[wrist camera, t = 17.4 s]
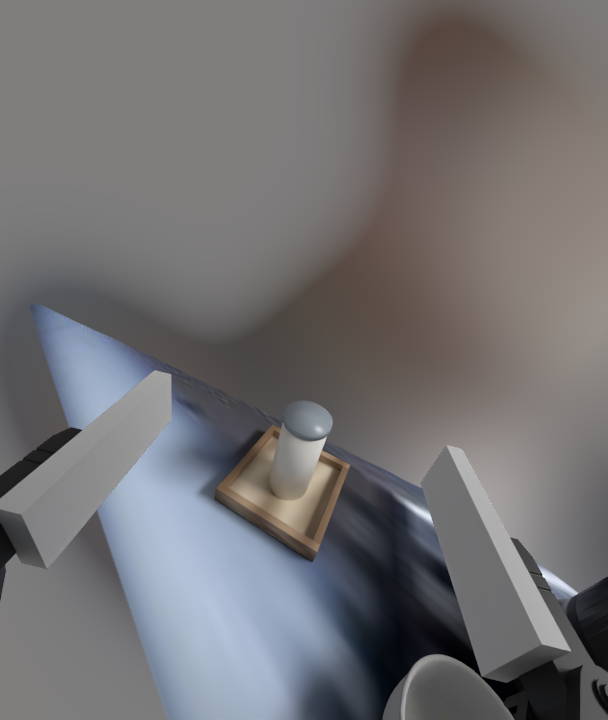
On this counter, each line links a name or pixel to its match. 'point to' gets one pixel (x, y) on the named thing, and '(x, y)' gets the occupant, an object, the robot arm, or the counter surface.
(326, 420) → the canister
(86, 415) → the counter surface
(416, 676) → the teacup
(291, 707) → the counter surface
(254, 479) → the tray
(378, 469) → the counter surface
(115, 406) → the robot arm
